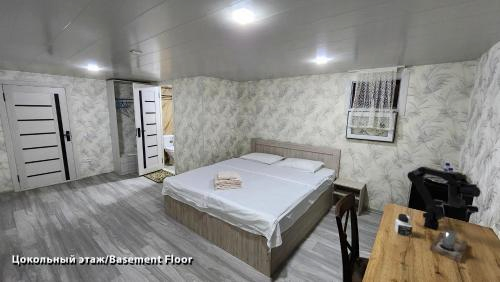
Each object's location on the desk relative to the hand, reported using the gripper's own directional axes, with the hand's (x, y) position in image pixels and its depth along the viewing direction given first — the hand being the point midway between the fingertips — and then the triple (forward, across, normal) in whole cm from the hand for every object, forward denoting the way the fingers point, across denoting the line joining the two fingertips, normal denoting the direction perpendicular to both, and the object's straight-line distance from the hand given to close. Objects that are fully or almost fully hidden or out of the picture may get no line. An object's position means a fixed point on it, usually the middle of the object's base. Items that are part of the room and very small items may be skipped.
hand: (454, 220), depth 122 cm
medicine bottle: (+13, -23, -9) cm, 28 cm away
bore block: (+15, -2, -7) cm, 17 cm away
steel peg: (+16, -2, -12) cm, 21 cm away
